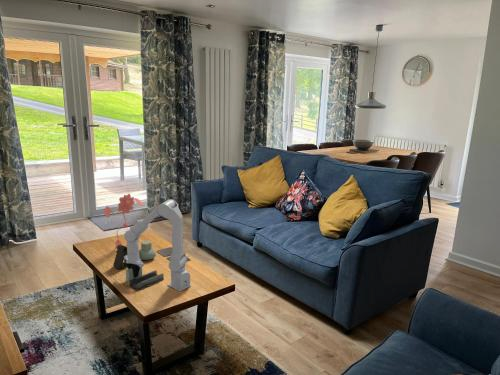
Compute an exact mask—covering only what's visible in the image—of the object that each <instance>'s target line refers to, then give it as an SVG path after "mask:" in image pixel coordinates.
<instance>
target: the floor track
mask: <svg viewBox="0 0 500 375" xmlns="http://www.w3.org/2000/svg"><path fill="white" fill-rule="evenodd" d="M164 279H165V278H164V273H160V274H158V271H157V269H155V270H152V271H150V272H148V273H145V274H142V276H140V277H137V278H135V279H132V280H129V282H128V283H129V284H128V286H129V287H130V288H132V289H134V290H136V291H140V290H143V289H145V288H147V287H149V286H151V285H153V284H156V283H159V282H161V281H163V280H164Z"/></svg>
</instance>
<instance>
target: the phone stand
mask: <svg viewBox="0 0 500 375" xmlns="http://www.w3.org/2000/svg"><path fill="white" fill-rule="evenodd" d="M120 245H121V244H120ZM120 245H118V246H117V248H116V252H115V253H116V254H115V257H114V261H113V263H112V264H113V265H112V267H113V268H114V269H115V268H116V269H118V271H119V270H123V269H126V268H128V267H127V266H126V264H125V263H126V261H127V260H124V256H126V255H127V245H126V246H125V245H123V244H122V245H121V246H120Z"/></svg>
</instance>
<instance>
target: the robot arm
mask: <svg viewBox="0 0 500 375" xmlns="http://www.w3.org/2000/svg"><path fill="white" fill-rule="evenodd" d="M156 217H162V218H165V219H166V220H168V221H170V222H171V244H172V245H171V246H172V247H171V255H170V259H169V262H168V268H169V270H170V283H167V286H168V287H171V288H173V289H174V290H176V291H178V292H181V291H184V290H185V289H187V288H190V287H191V286H192V284H191V274H190V272H188V271H187V269H186V264H187V263H188V257H187V255H186V254H187V253H186V251H184V215H183V214H182V212H181V210H180V208H179V203H177V201H176V200H174V199H169V198H168V199H167V200H166V201H164V202H163V203H160V204H159V205H158V206H155V207H154V208H153V209H152V210H151V211H150V212H149V213H148V214H147V215H146V216H145V218H142V219H138V220H136V221H135V224H134V225H132V226H131V227H129V230H126V231H125V232H124V235H123V236H124V240H125V241H126V247H127V255H126V256H124V260H127V261H126V263H125V264H126V266H127V267H126V268H127V270H128V269H131V268H132V270H133V276H134V278H135V277H138V274H139V270H140V268H141V267H142V268H143V267H144V266H145V265H144V264H145V263H144V262H143V261H142V259H140V258H139V250H140V246H139V240H140V237H141V235H142V234H143V233H144V232H146V231H147V230H148V228H149V225H150V223H151V222H152V221H153V220H154V219H156ZM130 228H131V229H130ZM124 260H123V261H124Z"/></svg>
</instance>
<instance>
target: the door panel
mask: <svg viewBox="0 0 500 375" xmlns="http://www.w3.org/2000/svg"><path fill="white" fill-rule="evenodd" d="M142 275H143V267H141V268H140V270H139V274H138V277H140V276H142ZM135 278H137V277H135ZM135 278H134V276H133V270H132V268H131V269H128V268H127V269H125V281H126V282H127V283H129V280H132V279H135Z"/></svg>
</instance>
